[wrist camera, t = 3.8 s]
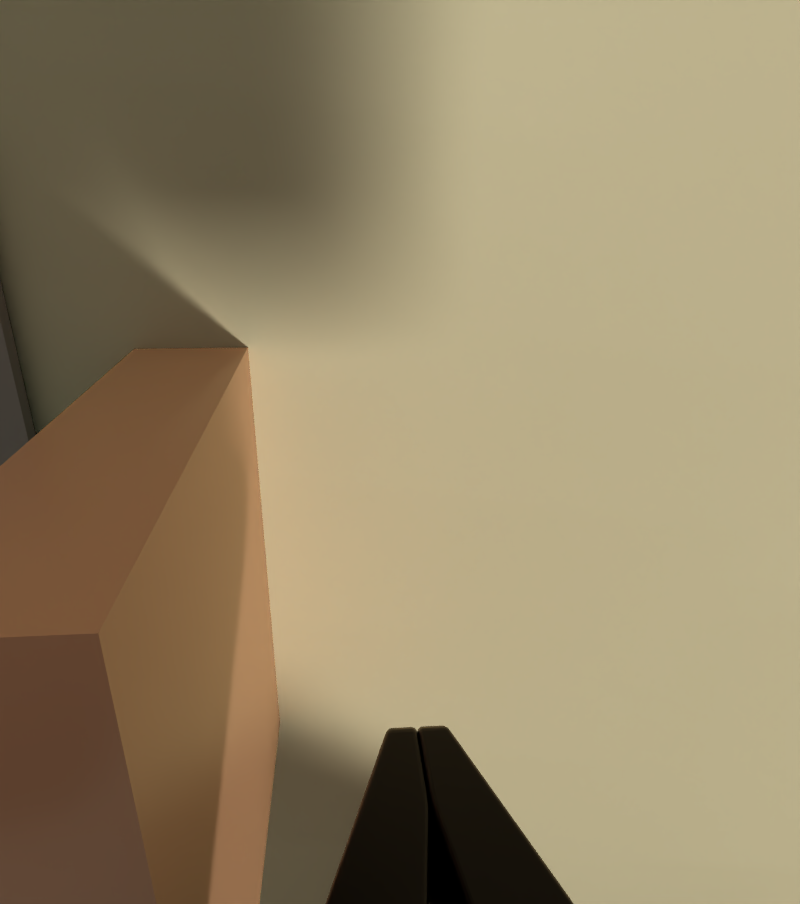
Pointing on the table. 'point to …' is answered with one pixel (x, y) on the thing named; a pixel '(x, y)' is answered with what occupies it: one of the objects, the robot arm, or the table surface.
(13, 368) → the mat
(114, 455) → the tile
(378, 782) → the robot arm
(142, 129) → the table surface
